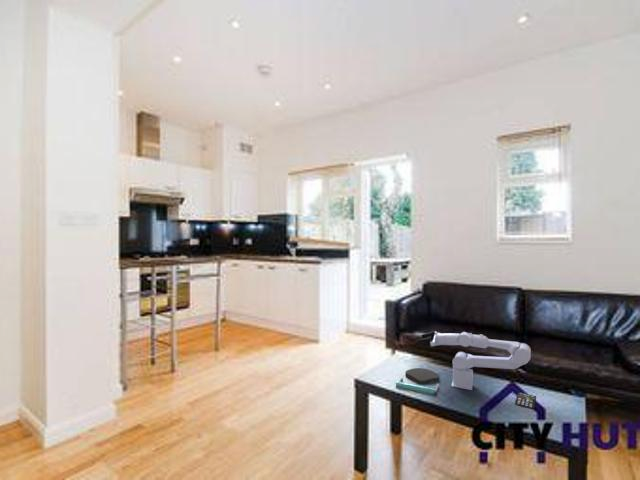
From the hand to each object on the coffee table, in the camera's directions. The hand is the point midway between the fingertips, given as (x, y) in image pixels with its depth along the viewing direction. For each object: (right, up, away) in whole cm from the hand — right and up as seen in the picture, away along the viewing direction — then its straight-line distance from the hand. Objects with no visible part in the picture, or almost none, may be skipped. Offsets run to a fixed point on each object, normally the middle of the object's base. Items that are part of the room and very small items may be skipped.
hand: (420, 339), depth 184 cm
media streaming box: (+1, -21, -1) cm, 21 cm away
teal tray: (-5, -20, -13) cm, 24 cm away
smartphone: (+41, -21, -27) cm, 53 cm away
